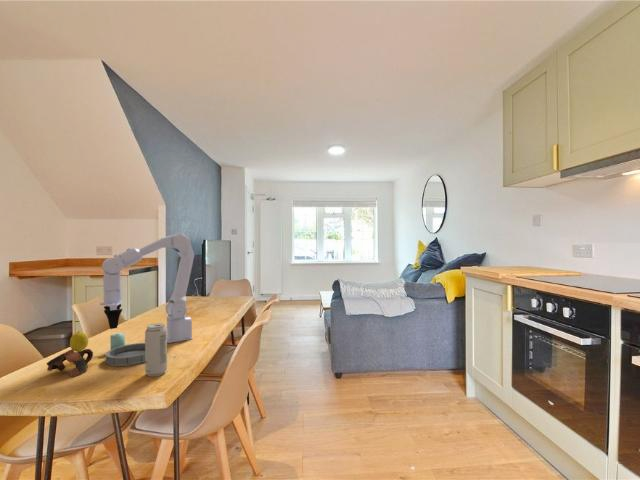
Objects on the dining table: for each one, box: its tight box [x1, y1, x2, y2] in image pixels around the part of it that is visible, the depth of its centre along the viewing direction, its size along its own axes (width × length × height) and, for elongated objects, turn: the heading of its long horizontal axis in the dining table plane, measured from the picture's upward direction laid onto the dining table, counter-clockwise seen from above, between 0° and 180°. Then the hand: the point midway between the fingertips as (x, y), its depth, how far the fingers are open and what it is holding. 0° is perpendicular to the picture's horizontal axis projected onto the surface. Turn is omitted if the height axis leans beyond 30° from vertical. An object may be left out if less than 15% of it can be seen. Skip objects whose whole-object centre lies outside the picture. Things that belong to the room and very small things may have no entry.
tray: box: [105, 342, 145, 368], centre depth 116 cm, size 16×16×3 cm
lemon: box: [69, 330, 89, 352], centre depth 122 cm, size 6×6×8 cm
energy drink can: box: [144, 322, 168, 378], centre depth 102 cm, size 6×6×15 cm
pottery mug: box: [46, 348, 94, 378], centre depth 105 cm, size 12×10×8 cm
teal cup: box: [110, 332, 126, 350], centre depth 124 cm, size 5×5×6 cm
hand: (113, 326), depth 124 cm, fingers open, 7 cm apart
